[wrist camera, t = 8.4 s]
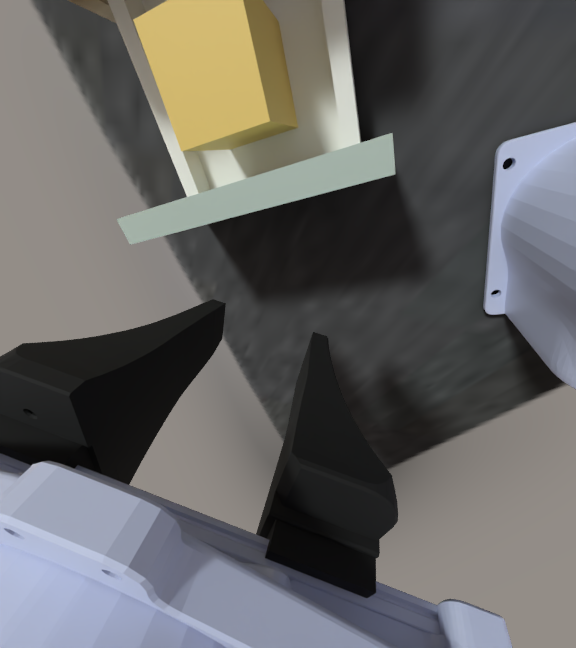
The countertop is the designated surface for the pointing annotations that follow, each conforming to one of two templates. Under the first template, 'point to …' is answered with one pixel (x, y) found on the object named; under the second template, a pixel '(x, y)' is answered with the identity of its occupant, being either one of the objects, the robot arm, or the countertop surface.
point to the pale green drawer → (276, 151)
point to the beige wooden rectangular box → (97, 7)
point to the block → (219, 71)
